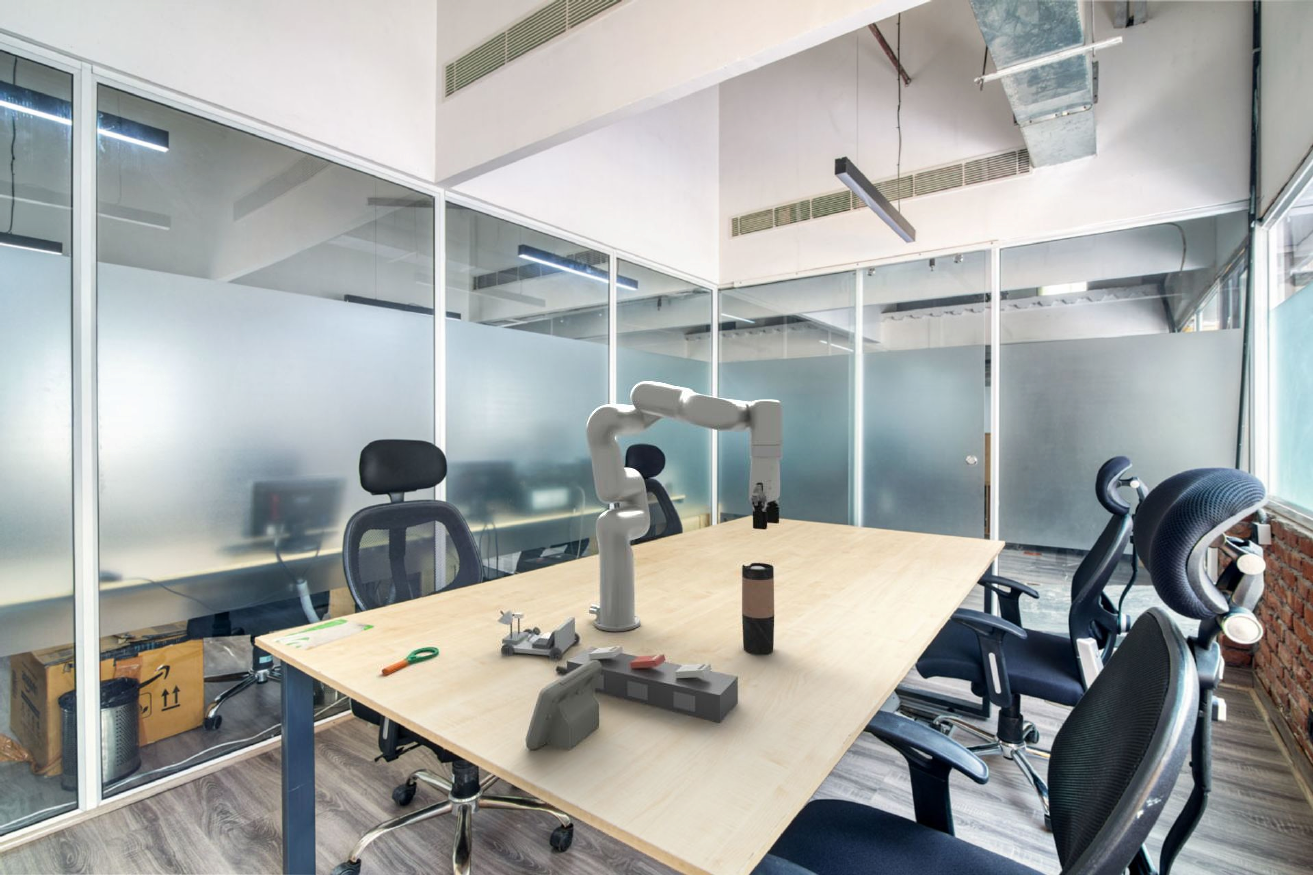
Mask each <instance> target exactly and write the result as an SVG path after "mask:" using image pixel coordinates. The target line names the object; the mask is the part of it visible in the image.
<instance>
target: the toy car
mask: <svg viewBox="0 0 1313 875" xmlns="http://www.w3.org/2000/svg"><path fill="white" fill-rule="evenodd" d="M500 614H502V616H501V617H500V618H499V619H498V620H497V622H498V623H500V624H503V625H506V626H509V625H510V626H509V627H510V628H509V630H510V632H509V633H510V634H508V635H506V636H505V637H504V638H502V639H501V643H502V646H501V648H500V651H501V655H502V656H512V655H513V654H514V653H519V654H529V655H530V654H531V655H541V656H549V658H550V660H553V661H554V660H555V661H561V659H562V658H563V655H564V654H563V653H564V652H565V651H567V650H568V648H569V647H571V646H572V645H573V644H575V645H578V644H579V643H580V639H581V637H580V635H579V634H578V633H577V632H576V617H574V616H570V617H569V618H568V619H567V620H565V621H564V622H563V623H562V624H560V625H559V626H558V627H557V628H555V629H554V630H553V631H552V632H545V633H544V634H541V630H540V628H539V627H537V626H534V627H533V628H532V629H531V628H526V629H524V630H523V631H520V630H521V628H520V627H521V625H520V624H521V623H520V621H521V620H520V619H523V618H524V612H514V613H513V612H512V609H509V610H508V611H506V612H505V613H504V612H503V610H500ZM514 619H517V630H514V631H513V621H514Z"/></svg>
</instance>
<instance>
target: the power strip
mask: <svg viewBox="0 0 1313 875" xmlns="http://www.w3.org/2000/svg"><path fill="white" fill-rule="evenodd" d="M598 648H599V647H593V646H591V647H589V648H588V649H586V650H584V651H582V652H581V653H578V654H577V655H575V656H574V657H572V658H570V659H568V660H566V667H565V666H561V665H557V666H556V668H555V671H556V672H557V673H561V674H565V675H566V674H568V673H570V672H572V671H573V670H575V669H577V668H578V667H580V666H582V665H583V664H585V663H587V662H589V661H592V660H598V661H599V662H600V663H601V672H600V676H599V679H598V682H597V685H596V688H595V691H594V693H598V694H602V695H605V696H610V697H613V698H618V699H620V700H621V699H622V700H625V701H631V702H634V703H638V704H642V705H646V706H650V707H654V708H657V709H662V710H666V711H670V712H674V713H678V714H682V715H686V716H691V717H695V718H699V719H702V720H706V721H710V722H714V723H719V724H721V723H722V722H723V720H725V718H726V717H727V716H728V715H729V714H730V712H731V711H732V710H733V709H734V708H735V707H736V706H737V704H739V676H737V675H732V674H727V673H722V672H717V671H712V670H711V671H710V672H709V673H707V674H706V675H705V676H704V677H689V678H676V675H675V671H677V670H678V669H679V668H680V667H681V666H683V665H684V664H683V665H682V664H677V663H673V662H668V661H664V662H663V663H661V664H660V665H658V666H657V667H646V668H632V669H631V665H630V662H631V661H633V660H634V659H636V658H637V657H639V655H634V654H628V653H623V652H622V653H620V654H619V655H617V656H615V657H614V658H603V659H592V660H590V657H589V653H591V652H593V651H595V650H596V649H598Z"/></svg>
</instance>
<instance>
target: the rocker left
mask: <svg viewBox="0 0 1313 875" xmlns="http://www.w3.org/2000/svg"><path fill="white" fill-rule="evenodd" d="M597 648H598V649H596V650H595V651H593V652H591V653H589V657H590V660H592V659H603V658H614V657H615V656H617V655H619V654H620V653H623V652H624V651H623V646H622V645H616V646H609V647H608V646H607V647H597Z"/></svg>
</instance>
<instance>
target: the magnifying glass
mask: <svg viewBox="0 0 1313 875" xmlns="http://www.w3.org/2000/svg"><path fill="white" fill-rule="evenodd" d="M429 652H430V653H431V654H428V655H427V654H426V655H421V656H420V655H417V654H421V653H429ZM439 655H440V650H439V648H438V647H434V646H428V647H421V648H417V649H415V650H413V651H411V652H410V653H409V654H408V655H407V656H406V657H405V658H404V659H403V660H401V661H398V662H395V663H393V664H391V665H389V666H386V667H384V668H382V670H381V674H382V675H384V676H389V675H391V674H392V673H396V672H397V671H399V670H402V669H404V668H406V667H408V666H409V665H413V664H416V663H420V662H421V663H422V662H424V661H427V660H431V659H434V658H436V657H437V656H439Z"/></svg>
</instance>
